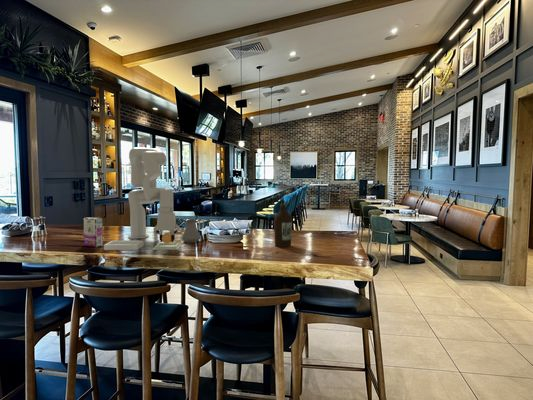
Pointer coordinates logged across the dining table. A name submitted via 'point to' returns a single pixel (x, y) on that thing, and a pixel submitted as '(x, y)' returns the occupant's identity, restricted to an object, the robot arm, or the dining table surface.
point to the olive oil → (283, 228)
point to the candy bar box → (93, 232)
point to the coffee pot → (191, 232)
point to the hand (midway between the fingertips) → (167, 241)
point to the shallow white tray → (124, 245)
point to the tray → (167, 246)
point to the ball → (166, 238)
